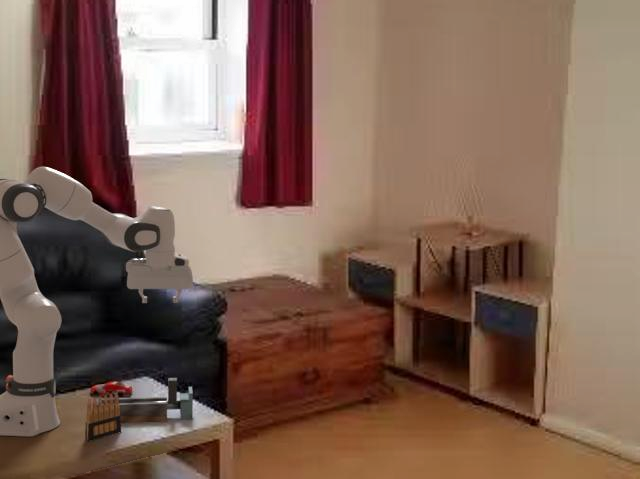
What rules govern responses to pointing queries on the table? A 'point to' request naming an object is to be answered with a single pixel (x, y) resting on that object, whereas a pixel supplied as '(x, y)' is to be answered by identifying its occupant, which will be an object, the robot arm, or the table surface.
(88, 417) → the ammunition clip
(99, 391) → the race car
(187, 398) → the socket block
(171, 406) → the tube
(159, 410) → the channel tray
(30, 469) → the table surface
